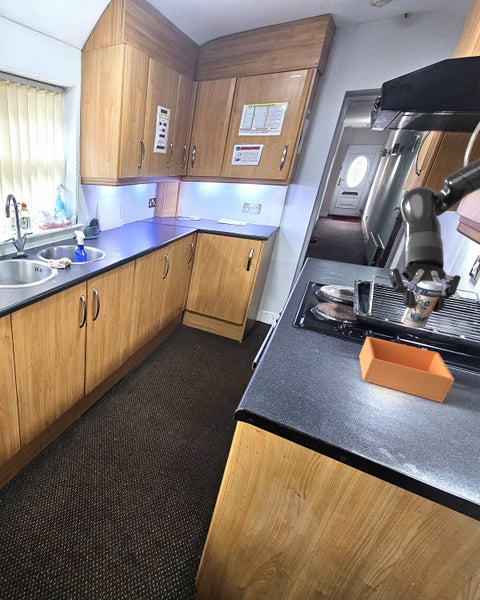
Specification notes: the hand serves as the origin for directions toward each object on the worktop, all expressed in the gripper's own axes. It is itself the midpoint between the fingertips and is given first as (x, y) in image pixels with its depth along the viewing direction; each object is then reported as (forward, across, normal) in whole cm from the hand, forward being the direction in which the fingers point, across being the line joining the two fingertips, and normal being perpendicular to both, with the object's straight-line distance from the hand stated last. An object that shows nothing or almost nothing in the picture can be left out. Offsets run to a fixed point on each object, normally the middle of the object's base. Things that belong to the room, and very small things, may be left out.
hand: (423, 308), depth 84 cm
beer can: (+3, 0, +5) cm, 6 cm away
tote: (+16, 0, +12) cm, 20 cm away
